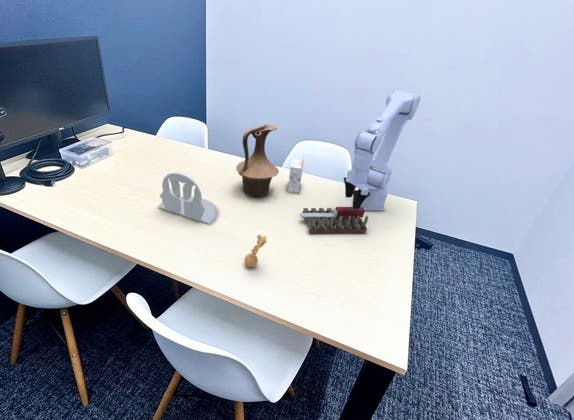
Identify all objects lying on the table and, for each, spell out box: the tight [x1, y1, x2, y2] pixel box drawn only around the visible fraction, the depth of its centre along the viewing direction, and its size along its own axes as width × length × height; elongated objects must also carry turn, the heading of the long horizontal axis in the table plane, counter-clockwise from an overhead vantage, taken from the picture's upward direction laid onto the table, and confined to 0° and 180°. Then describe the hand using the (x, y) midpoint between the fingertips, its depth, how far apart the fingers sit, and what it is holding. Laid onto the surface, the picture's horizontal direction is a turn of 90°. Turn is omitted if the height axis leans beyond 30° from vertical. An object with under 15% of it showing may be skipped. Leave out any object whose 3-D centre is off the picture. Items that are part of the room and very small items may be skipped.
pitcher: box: [235, 124, 280, 198], centre depth 131 cm, size 18×17×28 cm
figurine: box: [244, 234, 267, 268], centre depth 96 cm, size 8×6×12 cm
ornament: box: [158, 172, 217, 225], centre depth 121 cm, size 22×13×17 cm, turn 65°
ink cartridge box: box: [287, 154, 305, 194], centre depth 139 cm, size 9×5×15 cm, turn 168°
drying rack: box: [302, 207, 369, 235], centre depth 119 cm, size 20×13×7 cm, turn 95°
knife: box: [299, 206, 366, 218], centre depth 120 cm, size 23×3×3 cm, turn 95°
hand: (352, 202), depth 119 cm, fingers open, 7 cm apart
